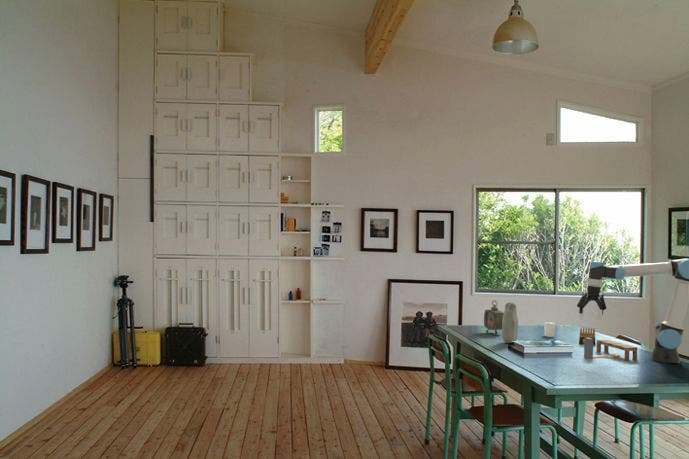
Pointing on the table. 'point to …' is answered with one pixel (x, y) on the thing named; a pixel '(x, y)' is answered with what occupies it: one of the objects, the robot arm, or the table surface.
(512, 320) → the beige vase
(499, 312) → the tabletop clock
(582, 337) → the ammunition clip
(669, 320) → the robot arm
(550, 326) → the white cup
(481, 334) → the table surface
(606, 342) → the low bench
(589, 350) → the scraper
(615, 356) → the brass token
